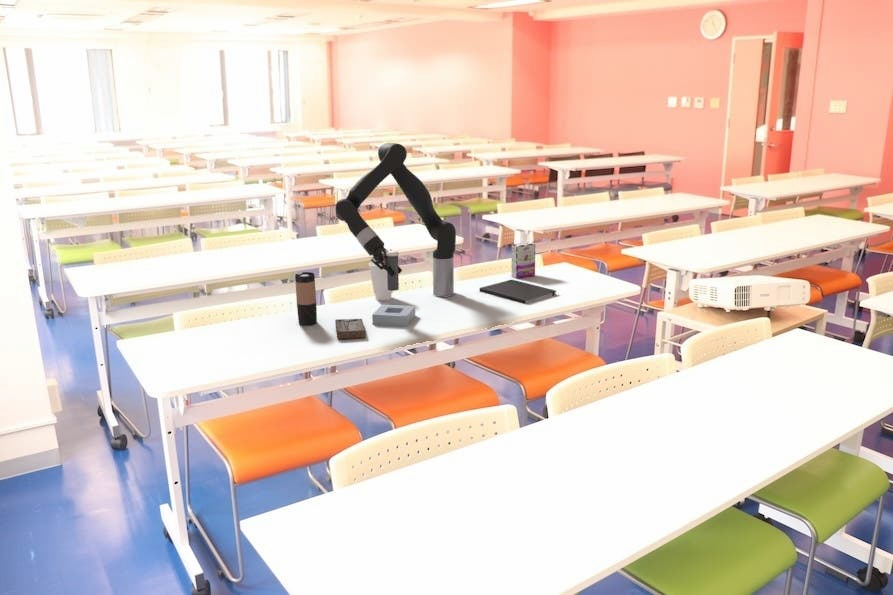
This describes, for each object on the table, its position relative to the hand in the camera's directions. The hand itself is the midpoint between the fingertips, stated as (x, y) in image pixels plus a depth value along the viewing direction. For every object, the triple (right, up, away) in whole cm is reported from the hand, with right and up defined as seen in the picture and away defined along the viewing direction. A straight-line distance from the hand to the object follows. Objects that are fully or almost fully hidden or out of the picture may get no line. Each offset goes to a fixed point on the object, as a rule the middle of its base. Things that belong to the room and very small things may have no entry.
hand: (397, 273), depth 291 cm
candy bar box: (+57, +1, +71) cm, 91 cm away
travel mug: (-36, -20, +3) cm, 41 cm away
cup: (-8, -10, +36) cm, 38 cm away
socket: (-2, -18, +6) cm, 20 cm away
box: (-18, -23, -8) cm, 30 cm away
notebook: (+52, -8, +43) cm, 68 cm away
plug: (-2, -6, +3) cm, 7 cm away
